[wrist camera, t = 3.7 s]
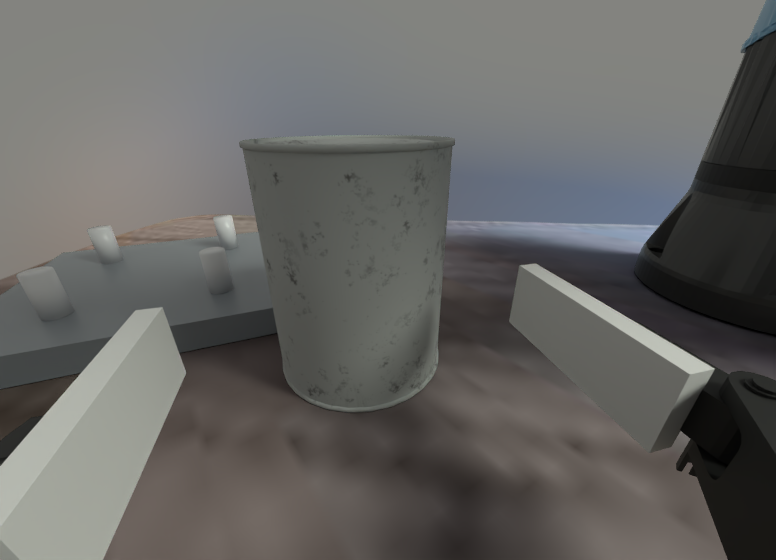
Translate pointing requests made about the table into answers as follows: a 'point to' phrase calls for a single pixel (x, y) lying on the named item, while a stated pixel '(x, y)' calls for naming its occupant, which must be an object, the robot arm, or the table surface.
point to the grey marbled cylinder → (353, 261)
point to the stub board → (132, 299)
